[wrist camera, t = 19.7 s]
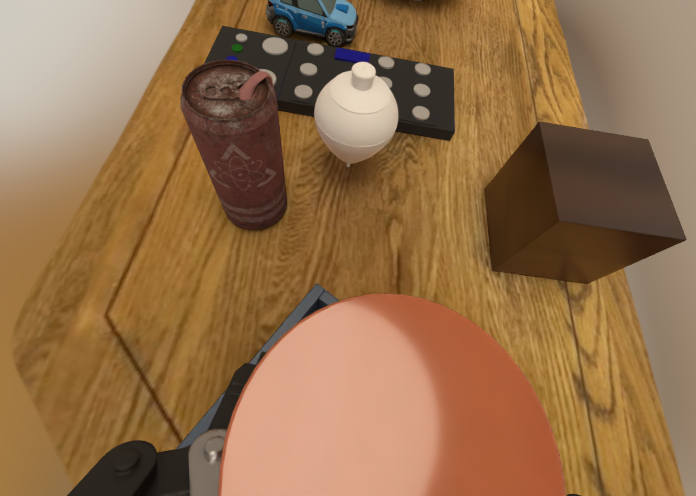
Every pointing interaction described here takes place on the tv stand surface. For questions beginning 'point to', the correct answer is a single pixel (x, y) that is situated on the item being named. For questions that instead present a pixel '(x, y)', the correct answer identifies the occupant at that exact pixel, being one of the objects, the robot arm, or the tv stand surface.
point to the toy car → (314, 19)
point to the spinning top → (356, 114)
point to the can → (238, 139)
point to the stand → (578, 205)
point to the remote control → (328, 62)
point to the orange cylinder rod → (388, 410)
